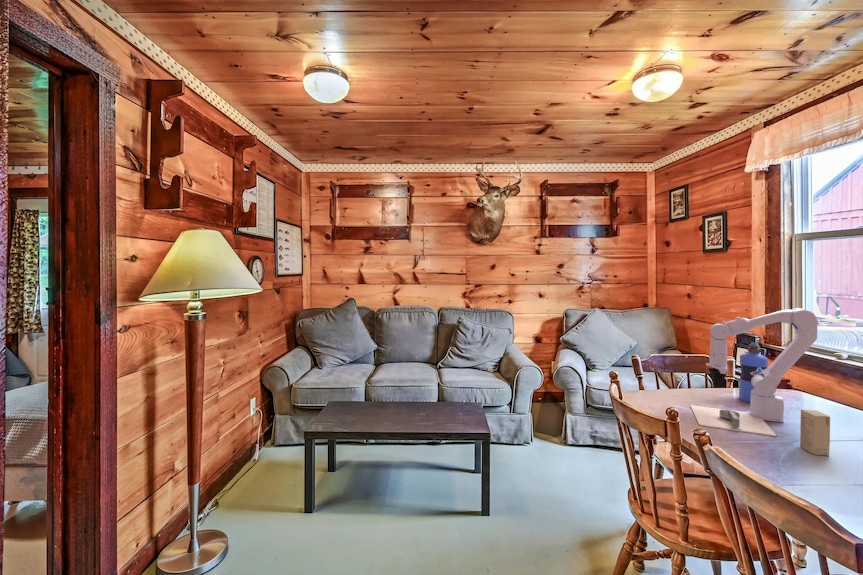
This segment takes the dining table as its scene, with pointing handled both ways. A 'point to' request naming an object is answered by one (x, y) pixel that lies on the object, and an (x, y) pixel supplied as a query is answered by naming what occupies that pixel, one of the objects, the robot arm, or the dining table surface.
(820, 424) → the skincare box
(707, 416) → the base
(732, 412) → the twist lock
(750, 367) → the water bottle
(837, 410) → the dining table surface
